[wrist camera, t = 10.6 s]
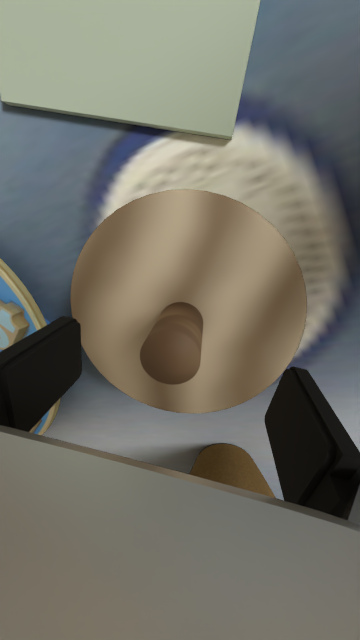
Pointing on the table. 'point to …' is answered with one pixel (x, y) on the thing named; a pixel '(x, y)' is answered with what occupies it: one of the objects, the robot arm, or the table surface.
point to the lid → (188, 301)
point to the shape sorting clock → (20, 324)
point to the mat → (129, 60)
